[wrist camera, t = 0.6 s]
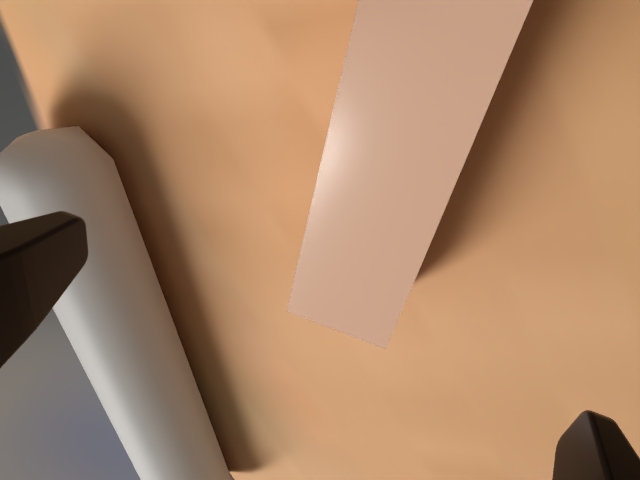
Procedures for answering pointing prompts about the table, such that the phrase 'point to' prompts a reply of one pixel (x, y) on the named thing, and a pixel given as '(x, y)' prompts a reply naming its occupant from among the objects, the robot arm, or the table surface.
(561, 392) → the table surface
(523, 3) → the beige long block
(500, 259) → the table surface
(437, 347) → the table surface
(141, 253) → the tube
